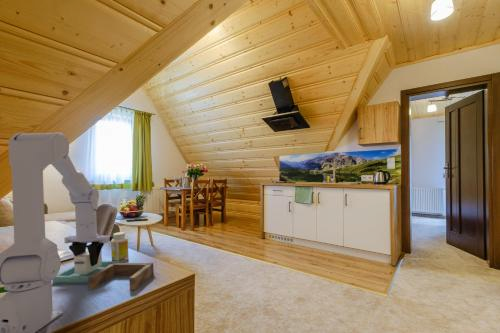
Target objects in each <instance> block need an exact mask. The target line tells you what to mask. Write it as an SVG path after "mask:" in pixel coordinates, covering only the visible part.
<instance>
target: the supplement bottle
mask: <svg viewBox="0 0 500 333" xmlns="http://www.w3.org/2000/svg"><path fill="white" fill-rule="evenodd" d="M128 239H129V238H128V237H127V236H126V232H124V231H118V232H115V233H113V235H112V239H111V240H110V247H111V248H110V249H111V252H110V253H111V261H119V263H125V262H126V261H127V260H129V240H128Z"/></svg>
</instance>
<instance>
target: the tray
mask: <svg viewBox="0 0 500 333" xmlns="http://www.w3.org/2000/svg"><path fill="white" fill-rule="evenodd" d="M112 263H119V261H112V260H102V266H100V267H99V268H97V269H95V270H93V271H92V272H90V273H88V274H86V275H84V274H75V270H74V266H72V267H70V268H68V269H66V270H63V271H62V272H60V273H58V274H57V275H56V276H55V278H54V279H53V280H52V284H54V285H55V284H57V285H59V284H61V285H62V284H63V285H89V279H88V277H90V276H91V275H93V274H95V273H96V272H98V271H100V270H101V269H103V268H105V267H107V266H108V265H110V264H112Z"/></svg>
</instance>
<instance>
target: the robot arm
mask: <svg viewBox="0 0 500 333" xmlns="http://www.w3.org/2000/svg"><path fill="white" fill-rule="evenodd" d="M69 153H70V143H69V140H68V137H67V136H66V135H65V134H64V133H63V132H59V131H58V132H57V131H56V132H37V133H35V132H33V133H32V132H30V133H28V132H27V133H24V132H17V133H15V134H13V136H12V137H11V138H9V139H8V159H9V160H8V163H9V165H10V166H11V189H12V190H11V191H12V194H11V195H12V217H13V240H14V241H13V243H12V244H10V245H9V246H8V247H6V248H5V249H3V251H1V252H0V286H4V291H6V293H5V294H3V295H2V296H1V297H0V333H36V332H38V331H39V330H41V329H42V328H43V327H45V326H46V325H48V324H49V323H51V322H53V321H54V320H55V319H57V318H58V317H60V316H61V315H62V314H63V311H62V310H54V309H53V288H52V286H53V285H52V284H53V279H54V278H55V276H56V275H58V274H59V272H60V268H61V263H62V261H61V260H62V259H61V256H60V255H59V251H58V250H59V249H58V245H57V243H55V242H54V241H52V240H51V239H49V238H47V237H46V222H45V221H46V220H45V196H44V195H45V194H44V192H45V191H44V171H45V169H47V167H48V166H50V165H51V166H52V167H53V168H54V169H55V170H56V171H57V172H58V173H59V174H60V175H61V177H62V179H61V183H62V184H63V186H64V187H65V188H66V190H68V195H69V198H70V199H69V200H70V202H71V204H72V205H74V211H75V235H68V236H65V237H64V244H70V245H68V249H69V250H70V251H71V253H72V254H73V257H75V256H77V255H79V254H82V253H84V252H86V251H88V252H89V255H90V263H91V266H94V265H96V264H97V263H98V258H99V254H100V252H102V249H103V247H104V246H105V244H107V243H109V242H110V243H111V240H110V239H111V238H110V235H104V234H99V233H98V226H97V225H98V224H97V223H98V222H97V221H98V220H97V208H98V206H99V205H98V204H99V200H100V192H99V190H98V188H97V187H95V186H92V185H91V183H90V182H89V181H88V179H87V177H86V176H85V174H84V173H83V172H82V171H80V170H76V168H75V164H73V162H72V160H71V157H70V156H69ZM89 243H90V244H89Z"/></svg>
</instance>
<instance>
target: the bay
mask: <svg viewBox="0 0 500 333" xmlns="http://www.w3.org/2000/svg"><path fill="white" fill-rule="evenodd" d="M154 272H155V271H154V262H120V263H112V264H110V265H108V266H107V267H105V268H103V269H101V270H100V271H98V272H96V273H95V274H93V275H91V276H90V277H88V279H89V284H88V290H95V289H97V288H98V287H99V286H101V285H102V284H103V285H104V284H105V283H106V282H107V281H109V280H110V279H111V278H113V277H114V276H116V277H117V276H119V277H120V276H121V277H123V276H124V277H126V276H127V277H128V278H129V291H136V290H137V289H138V288H139V287H140V286H142V285H143V284H145V283H146V282H147V280H148V279H150V278H151V277H152V276H153V275H154ZM129 276H130V277H129Z"/></svg>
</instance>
